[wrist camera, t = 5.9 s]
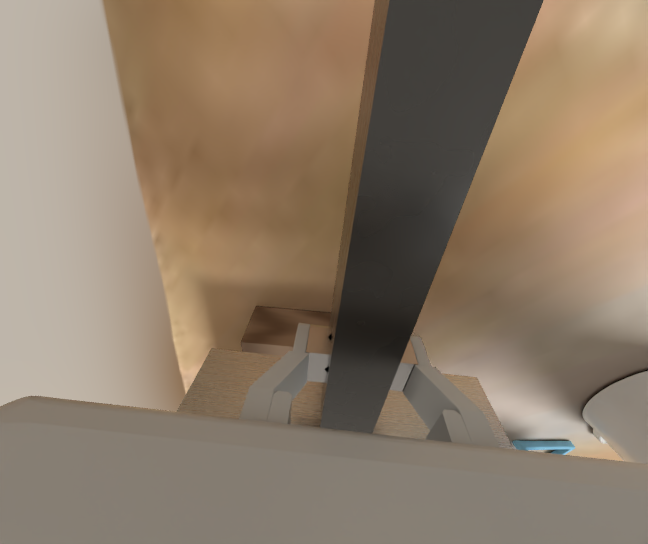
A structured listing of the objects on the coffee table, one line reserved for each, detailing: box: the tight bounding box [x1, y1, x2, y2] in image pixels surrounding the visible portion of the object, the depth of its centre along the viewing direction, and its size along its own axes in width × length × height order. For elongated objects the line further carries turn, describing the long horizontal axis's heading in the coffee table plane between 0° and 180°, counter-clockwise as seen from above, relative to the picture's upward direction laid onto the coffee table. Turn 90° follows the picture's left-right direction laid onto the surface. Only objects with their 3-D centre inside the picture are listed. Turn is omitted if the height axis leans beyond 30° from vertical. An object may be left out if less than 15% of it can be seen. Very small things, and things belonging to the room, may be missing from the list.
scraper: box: [177, 0, 543, 449], centre depth 9 cm, size 18×16×4 cm
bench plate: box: [241, 306, 331, 356], centre depth 29 cm, size 16×16×5 cm
